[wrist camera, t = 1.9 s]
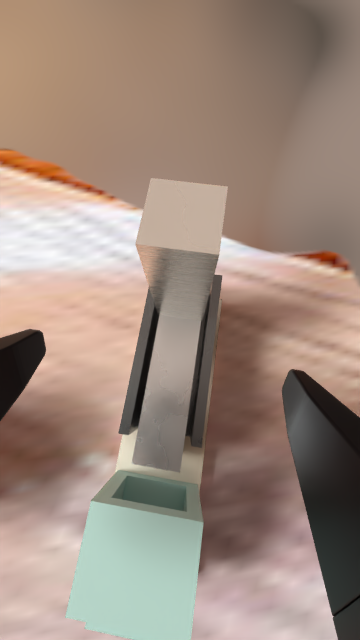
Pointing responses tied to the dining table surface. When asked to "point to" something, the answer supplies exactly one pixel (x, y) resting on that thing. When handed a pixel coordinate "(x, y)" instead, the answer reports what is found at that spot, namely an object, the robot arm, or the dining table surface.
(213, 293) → the sleeve
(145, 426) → the light grey l-shaped piece
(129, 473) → the socket
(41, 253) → the dining table surface
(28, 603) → the dining table surface
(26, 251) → the dining table surface
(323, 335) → the dining table surface
